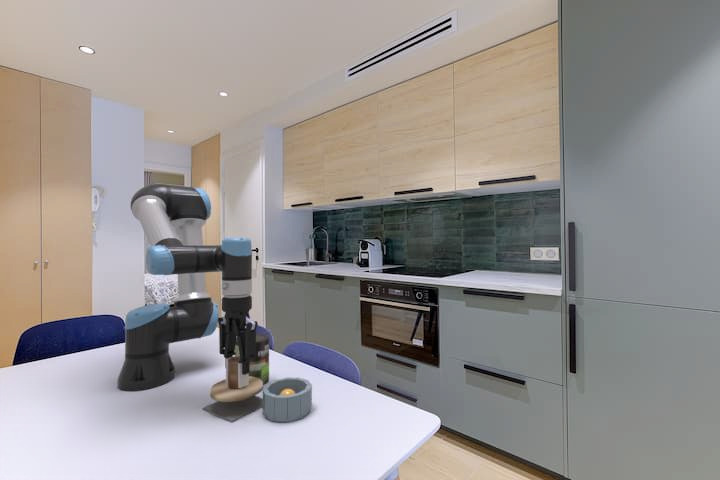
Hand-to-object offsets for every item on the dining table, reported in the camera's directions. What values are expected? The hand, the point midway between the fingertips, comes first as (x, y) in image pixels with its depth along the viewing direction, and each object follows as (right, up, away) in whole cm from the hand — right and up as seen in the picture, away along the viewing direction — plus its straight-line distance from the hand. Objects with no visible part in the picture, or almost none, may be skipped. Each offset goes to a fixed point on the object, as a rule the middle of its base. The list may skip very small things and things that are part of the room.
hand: (237, 383), depth 88 cm
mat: (0, -6, 0) cm, 6 cm away
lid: (0, -2, 0) cm, 2 cm away
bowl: (+14, -6, -2) cm, 15 cm away
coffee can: (-1, -6, +14) cm, 15 cm away
